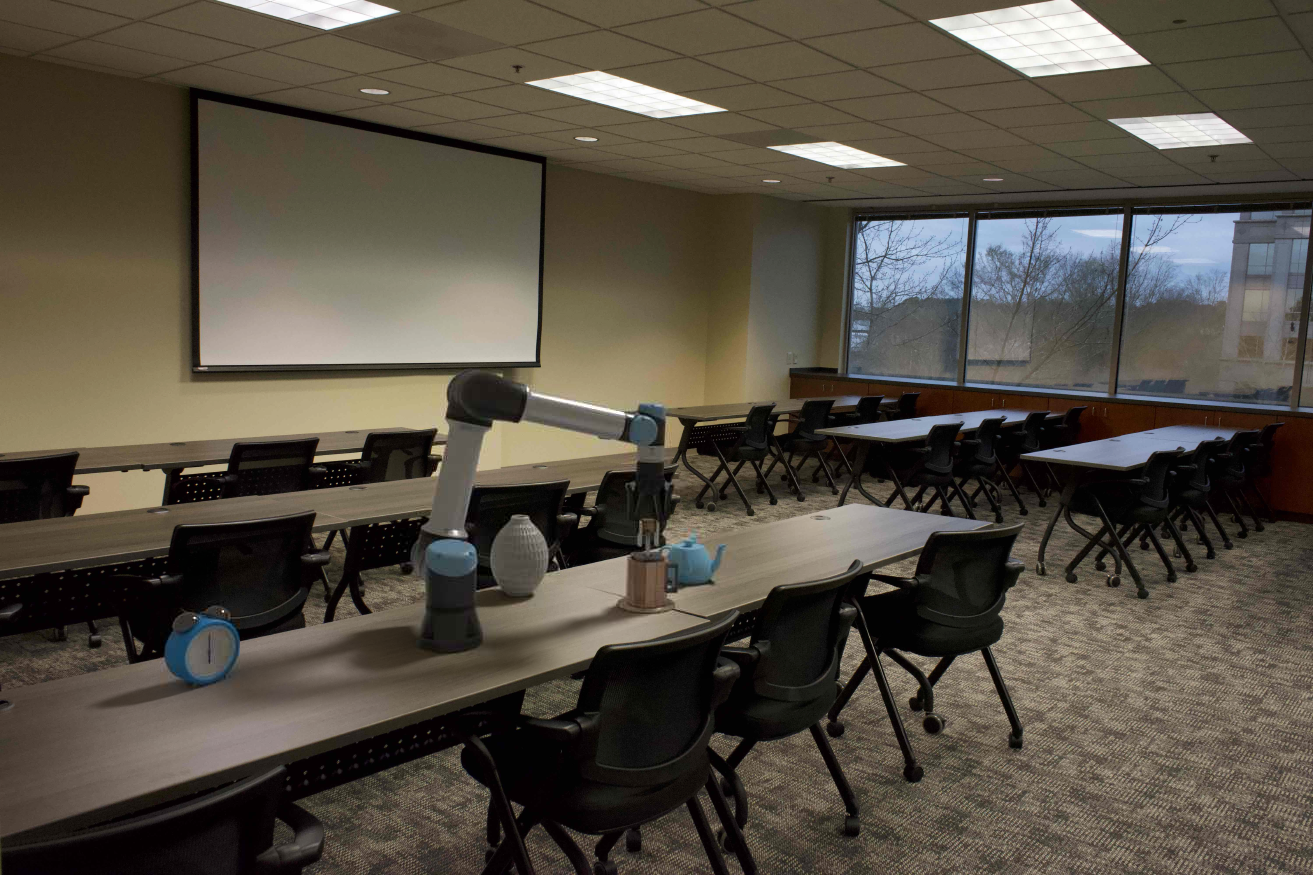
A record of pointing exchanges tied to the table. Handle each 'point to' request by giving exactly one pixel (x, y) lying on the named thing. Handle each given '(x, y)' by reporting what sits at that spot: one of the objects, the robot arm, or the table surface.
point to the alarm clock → (202, 646)
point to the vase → (519, 557)
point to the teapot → (692, 561)
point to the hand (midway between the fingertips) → (647, 545)
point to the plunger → (648, 532)
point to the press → (648, 584)
